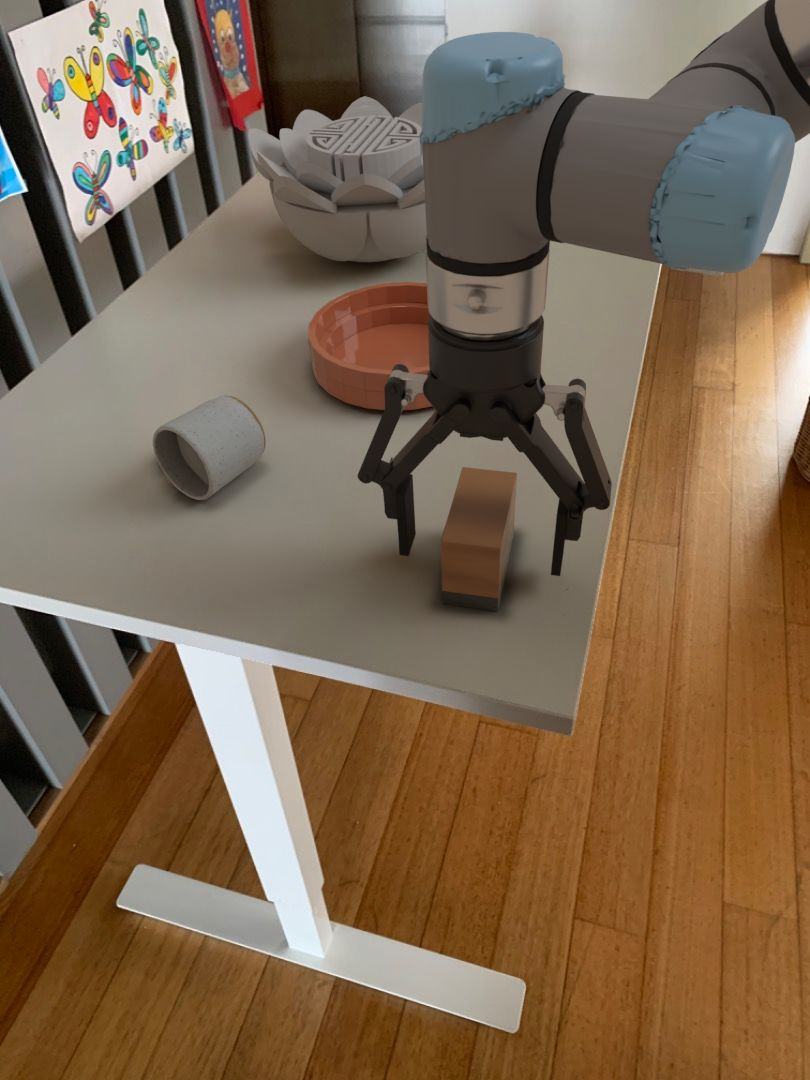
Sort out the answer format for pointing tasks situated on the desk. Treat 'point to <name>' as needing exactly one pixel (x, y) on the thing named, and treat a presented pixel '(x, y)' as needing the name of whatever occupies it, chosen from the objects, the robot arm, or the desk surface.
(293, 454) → the desk surface
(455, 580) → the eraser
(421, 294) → the terracotta bowl
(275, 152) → the decorative bowl
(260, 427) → the ceramic mug
